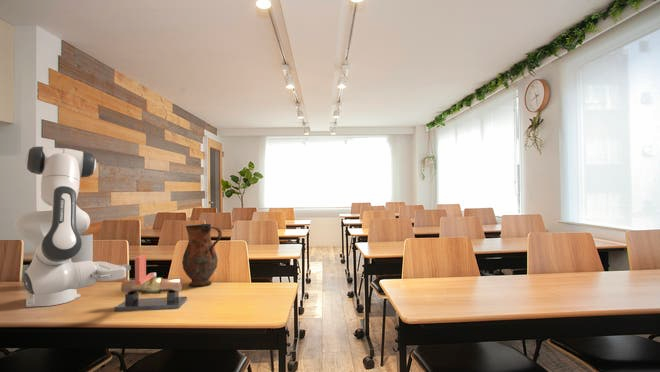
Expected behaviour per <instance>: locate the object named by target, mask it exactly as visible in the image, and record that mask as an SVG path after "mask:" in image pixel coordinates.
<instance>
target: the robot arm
mask: <svg viewBox="0 0 660 372" xmlns="http://www.w3.org/2000/svg"><path fill="white" fill-rule="evenodd" d="M24 163H25V166H26V169H27V170H28V171H29V172H30V173H32V174H37V175H42V176H41V180H40V181H41V182H40V198H41V200H42V201H43V203H44V204H46V205H48V206H51V207H52V210H36V211H29V212H25V213H20V215H19V216H17V217H16V220H15V222H14V229H15V232H16V233H17V234H18V236H20V237H21V238H24V239H25V240H27V241H29V242H30V244H32V246H33V247H34V249H35V251H34V255H33V257H32V261H31V262H30V264H29V266H28V268H27V269H26V271H24V273H23V276H22V280H23V285H24V288H25V290H26V291H27V294H28V295H29V296H28V297H26V299H25V307H26V308H31V307H32V308H33V307H49V306H56V305H60V304H65V303H68V302H72V301H74V300H76V299H78V298H80V297H81V293H78V292H77V290H78V289H83V288H89V287H93V286H94V285H95V284H96V282H99V281H100V282H109V281H116V280H122V279H125V278H126V277H127V272H128V271H131V269H132V268H131V265H130V264H127V263H126V264H114V263H111V262H107V261H94V260H93V261H91V260H89V261H82V262H75V263H73V262H71V258H72V257H73V256H75V255H76V254H77V253H78V252H79V250H80V249H81V245H82V241H81V237H80V235H79V234H83V233H85V232H86V231H87V230H88V229H89V228H90V225H91V218H90V216H89V214H88V213H87V212H86V211H84V210H82V209H81V208H80V207H79V206H78V205H77V200H78V196H79V191H80V183H81V178H83V179H84V178H90V177H91V176H93V174H94V172H95V171H96V169H97V160H96V156H95V155H94V154H93V153H91V152H90V151H89V152H88V151H85V150H83V151H81V150H76V149H72V148H66V147H65V148H62V147H44V146H33V147H31V148H29V150H28V152H27V153H26V154H25V157H24Z"/></svg>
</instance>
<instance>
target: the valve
mask: <svg viewBox="0 0 660 372" xmlns="http://www.w3.org/2000/svg"><path fill="white" fill-rule="evenodd" d="M182 288H183V278H182V277H181V278H164V277H160V276H159V277H155V278H151V279H149V280H148V281H146V282H145V283H143V284H141V285H135V279H134V280H133V279H131V280H130V279H129V280H123V281H122V282H121V287H120V291H121V293H122V294H125V295H124V301H123V302H121V303H120V304H118V305H116V306H115V307H114V312H130V311H131V312H132V311H150V310H152V311H153V310H173V309H180V308H181V307H182V306H183V305H184V304H185V303H186V302H187V301H188V297H187V296H179V295H180V294H179V292H182ZM163 292H164V293H166V297H147V298H146V297H145V298H142V297H141V298H139V293H140V294H141V295H157V294H159V295H160V294H162V293H163Z"/></svg>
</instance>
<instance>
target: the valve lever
mask: <svg viewBox="0 0 660 372" xmlns="http://www.w3.org/2000/svg"><path fill="white" fill-rule="evenodd" d="M151 278H157V272H150V273H148V274H147V255H146V254H141V255H140V254H139V256H136V257H135V258H134V280H135V285H141V284H143V283H145V282H146V281H148V280H149V279H151Z"/></svg>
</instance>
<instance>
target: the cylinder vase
mask: <svg viewBox="0 0 660 372" xmlns="http://www.w3.org/2000/svg"><path fill="white" fill-rule="evenodd" d="M79 235H80V237H81V241H82V245H81V249H80V250H79V252H78V253H77V254H76V255H75V256H73V257H72V258H71V262H73V263H75V262H82V261H89V260H91V261H93V262H94V235H93V233H79Z"/></svg>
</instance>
